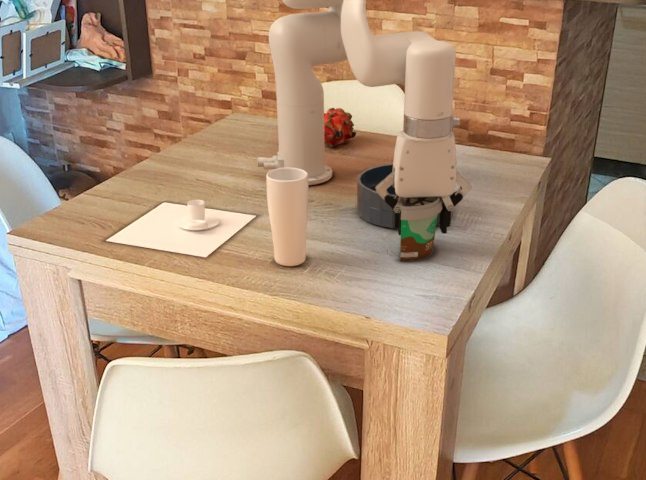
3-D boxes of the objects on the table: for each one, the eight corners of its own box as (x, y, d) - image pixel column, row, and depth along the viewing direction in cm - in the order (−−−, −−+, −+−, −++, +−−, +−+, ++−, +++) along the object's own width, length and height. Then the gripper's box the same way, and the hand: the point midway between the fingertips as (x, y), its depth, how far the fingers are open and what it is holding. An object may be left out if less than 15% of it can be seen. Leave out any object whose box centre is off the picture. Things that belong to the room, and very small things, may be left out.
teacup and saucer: (205, 236, 147) (203, 214, 144) (166, 230, 149) (163, 209, 147) (227, 219, 153) (226, 198, 151) (190, 213, 156) (187, 192, 153)
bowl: (362, 232, 148) (362, 198, 145) (352, 196, 163) (352, 164, 160) (461, 229, 149) (464, 195, 146) (442, 193, 165) (444, 162, 161)
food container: (435, 267, 136) (439, 210, 130) (398, 264, 137) (401, 207, 131) (442, 238, 146) (446, 184, 140) (408, 236, 147) (410, 181, 141)
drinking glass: (269, 253, 141) (265, 167, 132) (309, 251, 141) (307, 166, 133) (270, 270, 135) (265, 181, 127) (311, 268, 135) (309, 180, 127)
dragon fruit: (337, 141, 199) (340, 164, 190) (308, 122, 195) (310, 144, 186) (358, 113, 195) (363, 135, 186) (329, 93, 191) (333, 115, 182)
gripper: (475, 117, 133) (466, 221, 143) (369, 120, 132) (368, 224, 142) (486, 131, 127) (476, 238, 137) (375, 134, 126) (373, 242, 136)
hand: (421, 230), depth 139 cm, fingers closed on food container, 6 cm apart
